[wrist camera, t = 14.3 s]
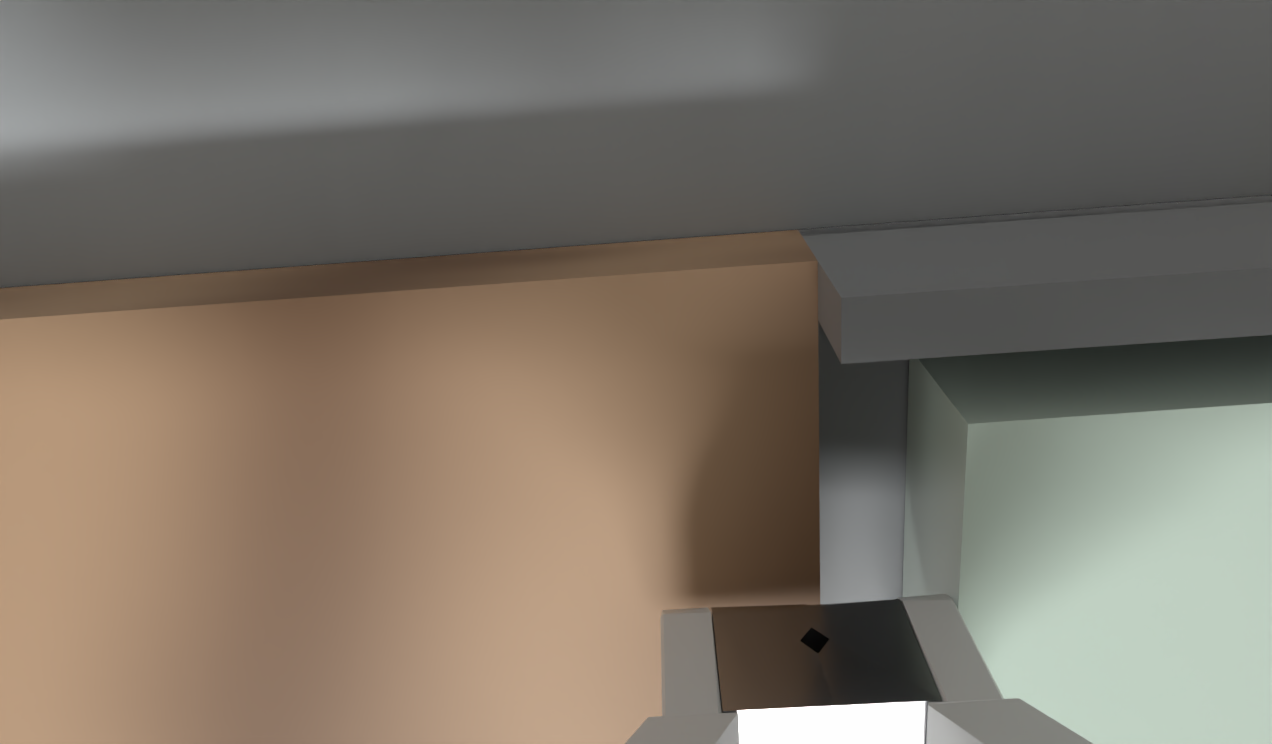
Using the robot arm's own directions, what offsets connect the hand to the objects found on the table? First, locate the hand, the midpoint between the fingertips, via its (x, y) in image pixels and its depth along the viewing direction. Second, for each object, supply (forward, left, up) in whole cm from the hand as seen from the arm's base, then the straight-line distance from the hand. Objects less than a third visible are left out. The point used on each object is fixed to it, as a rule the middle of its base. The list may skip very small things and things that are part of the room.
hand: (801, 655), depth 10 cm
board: (+6, +3, -2) cm, 7 cm away
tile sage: (-4, 0, -2) cm, 5 cm away
